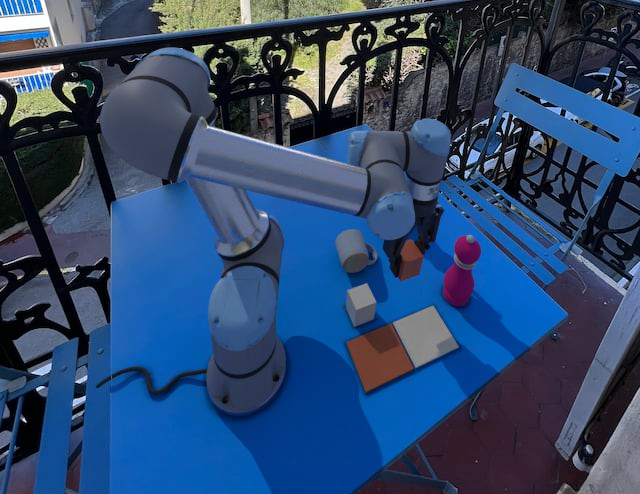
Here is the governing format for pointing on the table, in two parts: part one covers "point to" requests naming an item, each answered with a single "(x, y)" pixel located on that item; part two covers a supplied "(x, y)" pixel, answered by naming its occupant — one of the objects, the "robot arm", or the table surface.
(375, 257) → the ceramic mug
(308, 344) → the table surface
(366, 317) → the cream block
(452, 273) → the pepper mill
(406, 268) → the terracotta block
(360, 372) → the terracotta mat
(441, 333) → the cream mat
